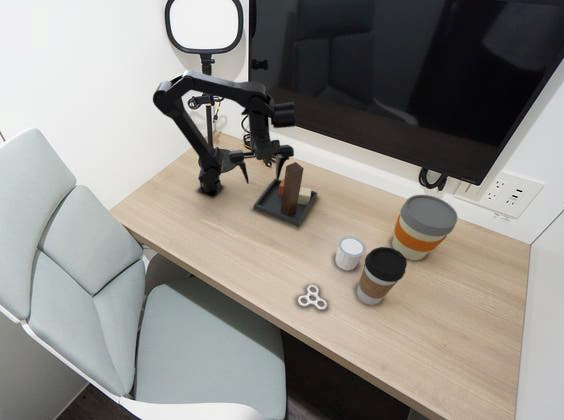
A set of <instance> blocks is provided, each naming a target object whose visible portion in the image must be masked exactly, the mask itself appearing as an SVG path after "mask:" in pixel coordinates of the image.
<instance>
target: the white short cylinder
mask: <svg viewBox="0 0 564 420" xmlns="http://www.w3.org/2000/svg"><path fill="white" fill-rule="evenodd" d="M365 252H366V245H365V244H364V243H363V242H362V241H361V240H360V239H359V238H357V237H354V236H344V237H342V238H340V239H339V241H338V243H337V248H336V253H335V257H334V258H335V259H334V260H335V262H334V263H335V264H336V266H337V267H338V268H339V269H341V270H344V271H352V270H354V269H355V268H356V267H357V265H358V264H359V262H360V261H361V259H362V257H363V256H364V254H365Z"/></svg>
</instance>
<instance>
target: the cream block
mask: <svg viewBox="0 0 564 420" xmlns="http://www.w3.org/2000/svg"><path fill="white" fill-rule="evenodd" d="M311 191H313V190H312V188H310V187H305V186H301V187H300V193H299V198H298V204H303V205H308V203H309V201H310V196H311Z"/></svg>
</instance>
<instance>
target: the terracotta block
mask: <svg viewBox="0 0 564 420" xmlns="http://www.w3.org/2000/svg"><path fill="white" fill-rule="evenodd" d="M284 179H285V178H282V179H281V180H282V182H281V184H280V185H279V193H278V195H282V196H283V187H284Z"/></svg>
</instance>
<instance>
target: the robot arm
mask: <svg viewBox="0 0 564 420" xmlns="http://www.w3.org/2000/svg"><path fill="white" fill-rule="evenodd" d="M191 91H193V92H198V93H202V94H206V95H210V96H214V97H218V98H221V99H226V100H229V101H233V102H235V103H236V104H238V105H239V106H240V107H241V108H244V110H243V111H242V112H241V113H240V115H241V116H248V117H247V118H248V129H249V145H250V151H245V152H244V151H243V150H242V149H236V150H230V151H229V152H228V159H229V162H230V164H234V166H236V167H237V166H239V168H240V170H241V172H242V175H243V177H244V180H245V182H246V184H249V183H250V182H249V176H248V170H247V166H246V162H245V160H246V159H254V158H255V159H256V160H257V161H263V160H272V159H273V158H274V156H275V178H276V180H280V176H281V173H282V169H283V167H284V164H285V163H286V162H287V161H288V160H290V158H291V157H295V149H294V147H292V146H291V145H290V144H281V141H280V139H272V140H271V135H270V125H271V126H272V127H273V129H284V128H285V129H286V128H295V127H296V114H295V105H294V104H295V103H294V101H289V102H285V103H275V100H274V98H273V97H272V96H271V95H270V94H269V93H268V89H267V87H266V86H265V85H264V84H263V83H262V82H259V81H249V80H248V81H240V82H237V81H233V80H228V79H225V78H220V77H217V76H212V75H209V74H205V73H201V72H197V71H195V70H193V69H187V70H185V71H184V72H183V73H181V74H179V75H177V76H175V77H173V78H171V79H170V80H164V81H161V82H160V83H159V85H158V87H157V88H156V90H155V91H154V93H153V95H152V103H153V105H154V106H155V107H156V108H157V110H159V111H160V113H161V114H162V115H163V116H166V117H167V118H170V119H171V120H172V121H173V122H174V124H175V125H176V127H177V128H178V130H179V131H180V132H181V134H182V135H183V137H184V138H185V139H186V141H187V142H188V144H189V145H190V146H191V147H192V149H193V150H194V152H195V153H196V155H197V156H198V159H199V162H200V169H199V172H198V173H199V174H198V177H197V179H198V181H199V186H200V187H199V188H198V189H197V192H199V193H201V194H203V195H206V196H209V197H211V198H213V197H215V196H216V195H217V194H218V193H219V192H220V191H221V190H222V189H223V185H222V181H221V179H220V176H221V175H222V173H223V168H224V163H225V159H224V157H225V154H224V153H223V152H221V150H220V147H219V146H216V147H213V146H211V144H209V143H208V141H207V140H206V138H205V137H204V135H203V134H202V132H201V131H200V129H199V127H197V124H196V123H195V121H194V120H193V119H192V117H191V116H190V114H189V113H188V111H187V109H185V104H184V101H183V98H182V97H184V96H185V95H186V94H188V93H189V92H191ZM269 117H270V119H269ZM269 120H270V121H269Z"/></svg>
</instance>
